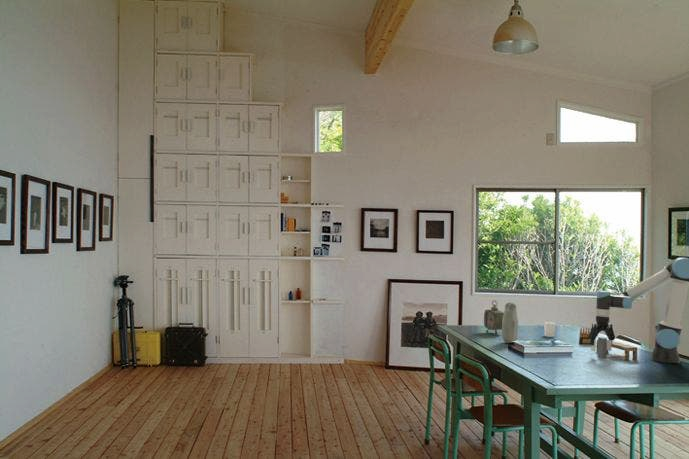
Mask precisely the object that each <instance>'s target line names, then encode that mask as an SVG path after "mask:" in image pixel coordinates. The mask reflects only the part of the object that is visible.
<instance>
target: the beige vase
mask: <svg viewBox="0 0 689 459" xmlns="http://www.w3.org/2000/svg"><path fill="white" fill-rule="evenodd" d="M504 306H505V307H504V312H503V313H504V315H503V318H502V330H501V336H502V337H501V338H502V340H503V342H505V343H506V344H509V342H510V341H516V342H517V340H518V336H519V334H518V332H519V331H518V330H519V317H518V314H517V305H516V303H513V302H507V303H506V304H505V305H504Z"/></svg>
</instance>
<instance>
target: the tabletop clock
mask: <svg viewBox="0 0 689 459" xmlns="http://www.w3.org/2000/svg"><path fill="white" fill-rule="evenodd" d="M494 302H495V303H496V304H493V303H494ZM491 304H492V306H491V308H490V309H485V310H484V314H483V325H484V326H483V327H485V328H486V329H487V330H485V332H486V333H488V332H489V330H490V331H494V333H493V335H494V336H496V335H498V333H499V332H498V331H500V330H501V331H502V318H503V315H504V312H503V311H502V310H499V309H498V301H496V300H492V301H491Z"/></svg>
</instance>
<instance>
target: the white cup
mask: <svg viewBox="0 0 689 459" xmlns="http://www.w3.org/2000/svg"><path fill="white" fill-rule="evenodd" d="M556 325H557V324H556V322H553V321H552V322H550V321H545V322H544V324H543V326H544V327H543V329H544V336H545V337H548V338H555V333H556Z"/></svg>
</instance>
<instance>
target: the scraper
mask: <svg viewBox="0 0 689 459" xmlns="http://www.w3.org/2000/svg"><path fill="white" fill-rule="evenodd" d="M597 340H598V352H597V357H598V358H601V359H604V358H618V357H620V358H625V355H623V354H624V353H621V352H618V353H616V352H615V353H614V354H607V353H608V352H607V340H608V337H603V336H599V337H598V336H597Z"/></svg>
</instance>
